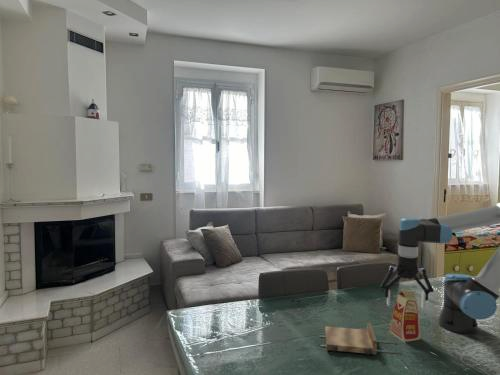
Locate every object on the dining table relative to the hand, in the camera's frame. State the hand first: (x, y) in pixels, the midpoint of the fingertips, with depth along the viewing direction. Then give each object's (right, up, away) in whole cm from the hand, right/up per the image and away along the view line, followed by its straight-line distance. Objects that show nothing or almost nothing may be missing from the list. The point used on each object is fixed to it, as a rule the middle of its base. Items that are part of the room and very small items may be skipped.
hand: (405, 306), depth 152 cm
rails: (-22, -13, -8) cm, 26 cm away
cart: (-25, -12, -7) cm, 29 cm away
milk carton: (0, -13, +1) cm, 13 cm away
